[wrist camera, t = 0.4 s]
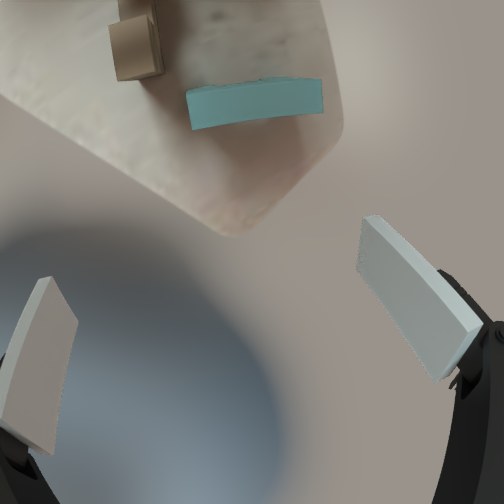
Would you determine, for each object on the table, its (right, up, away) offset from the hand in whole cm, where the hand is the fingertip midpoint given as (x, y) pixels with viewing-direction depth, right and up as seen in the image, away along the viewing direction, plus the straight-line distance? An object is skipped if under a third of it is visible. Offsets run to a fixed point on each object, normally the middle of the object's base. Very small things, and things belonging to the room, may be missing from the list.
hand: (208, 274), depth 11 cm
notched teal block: (0, +18, +18) cm, 25 cm away
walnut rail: (-10, +26, +10) cm, 30 cm away
